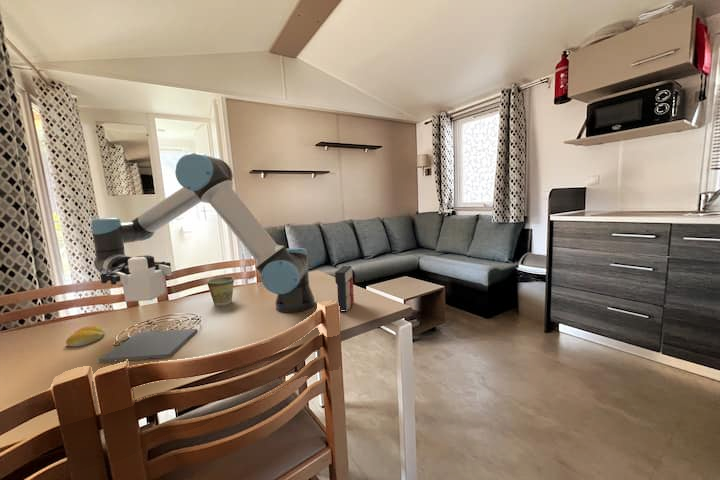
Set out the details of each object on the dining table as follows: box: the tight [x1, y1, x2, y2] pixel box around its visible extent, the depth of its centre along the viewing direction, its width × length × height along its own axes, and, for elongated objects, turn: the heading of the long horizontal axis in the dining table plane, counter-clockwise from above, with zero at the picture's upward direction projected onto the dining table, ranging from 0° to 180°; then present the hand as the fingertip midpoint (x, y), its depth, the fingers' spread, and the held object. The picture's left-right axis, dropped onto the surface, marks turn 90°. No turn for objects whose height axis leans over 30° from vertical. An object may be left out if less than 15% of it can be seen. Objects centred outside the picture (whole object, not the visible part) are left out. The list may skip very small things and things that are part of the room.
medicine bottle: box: [122, 254, 167, 303], centre depth 84 cm, size 7×7×12 cm
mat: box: [98, 328, 198, 363], centre depth 87 cm, size 18×16×1 cm
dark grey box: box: [334, 265, 355, 311], centre depth 112 cm, size 11×4×15 cm, turn 168°
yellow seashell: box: [65, 325, 106, 347], centre depth 92 cm, size 8×9×4 cm
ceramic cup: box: [206, 276, 235, 307], centre depth 123 cm, size 13×10×10 cm
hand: (149, 275), depth 81 cm, fingers closed on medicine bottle, 10 cm apart
